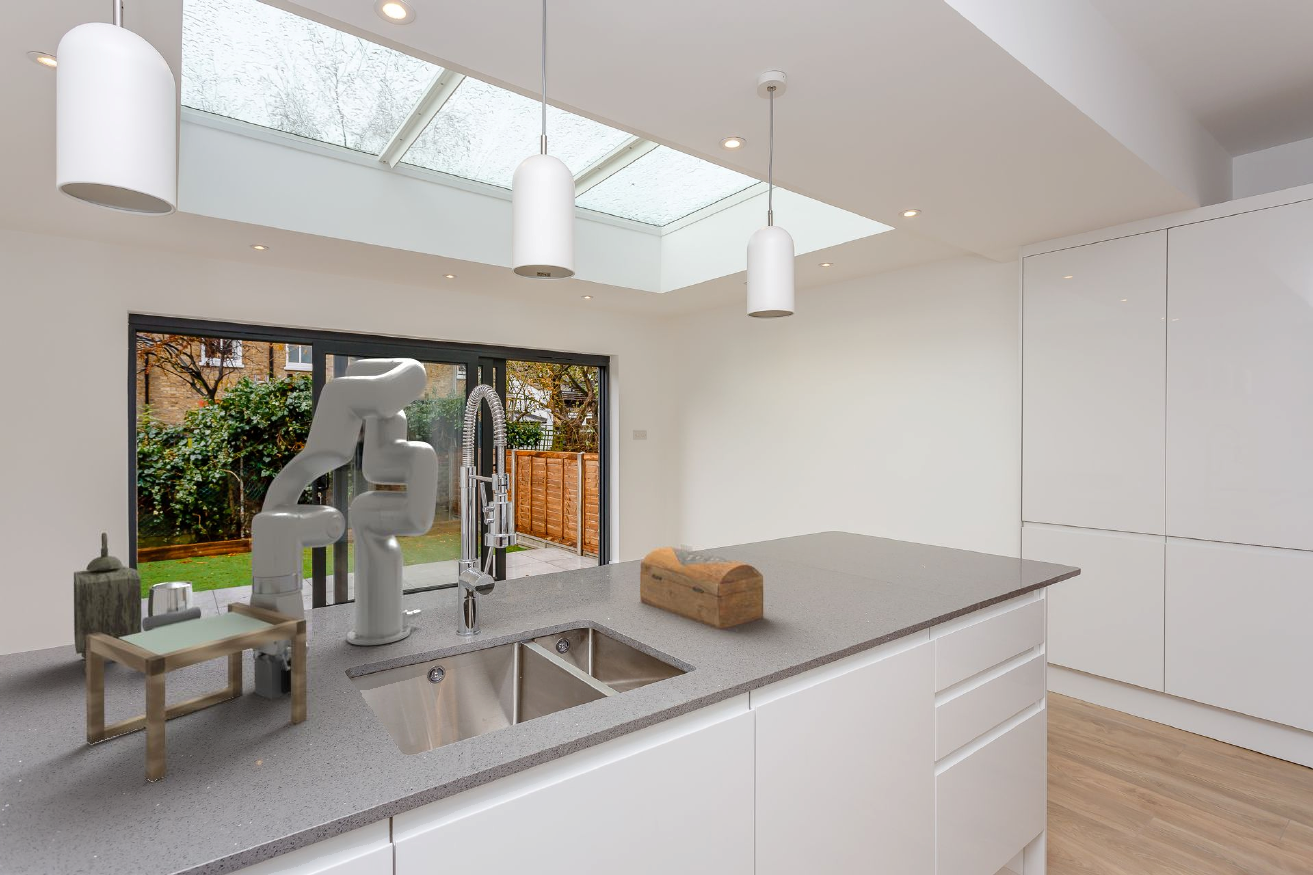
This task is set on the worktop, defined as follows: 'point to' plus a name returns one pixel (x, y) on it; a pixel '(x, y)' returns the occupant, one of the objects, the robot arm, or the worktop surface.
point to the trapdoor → (189, 630)
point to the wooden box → (702, 587)
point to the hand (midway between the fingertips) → (278, 685)
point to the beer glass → (170, 597)
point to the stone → (268, 675)
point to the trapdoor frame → (159, 664)
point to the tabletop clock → (106, 599)
